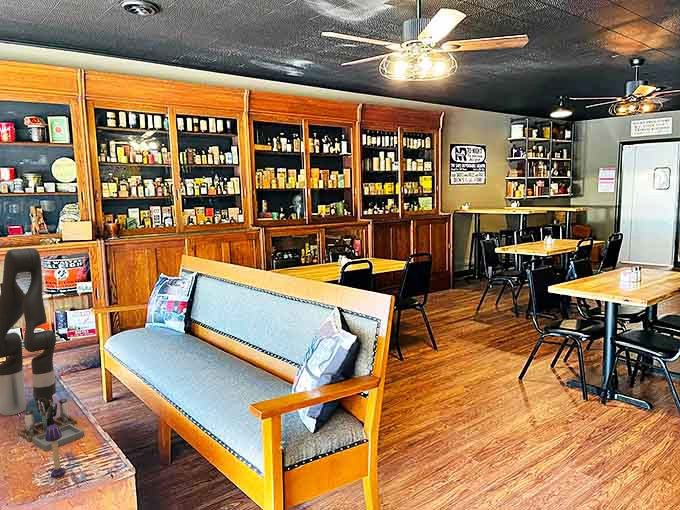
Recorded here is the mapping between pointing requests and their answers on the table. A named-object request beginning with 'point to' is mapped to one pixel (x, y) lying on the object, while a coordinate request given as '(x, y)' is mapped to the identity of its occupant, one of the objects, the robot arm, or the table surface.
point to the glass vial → (29, 423)
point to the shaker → (44, 421)
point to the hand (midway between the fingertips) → (48, 425)
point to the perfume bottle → (34, 410)
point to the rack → (56, 421)
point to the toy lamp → (55, 449)
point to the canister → (64, 411)
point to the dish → (68, 435)
